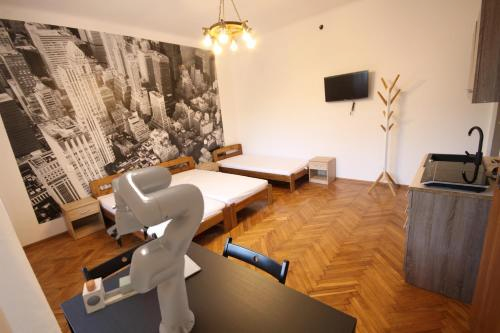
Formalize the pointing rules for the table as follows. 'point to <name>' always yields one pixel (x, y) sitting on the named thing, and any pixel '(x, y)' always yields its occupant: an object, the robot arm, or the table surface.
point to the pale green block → (117, 296)
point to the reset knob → (90, 285)
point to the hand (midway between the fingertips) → (133, 241)
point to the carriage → (125, 284)
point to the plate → (190, 267)
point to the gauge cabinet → (94, 297)
